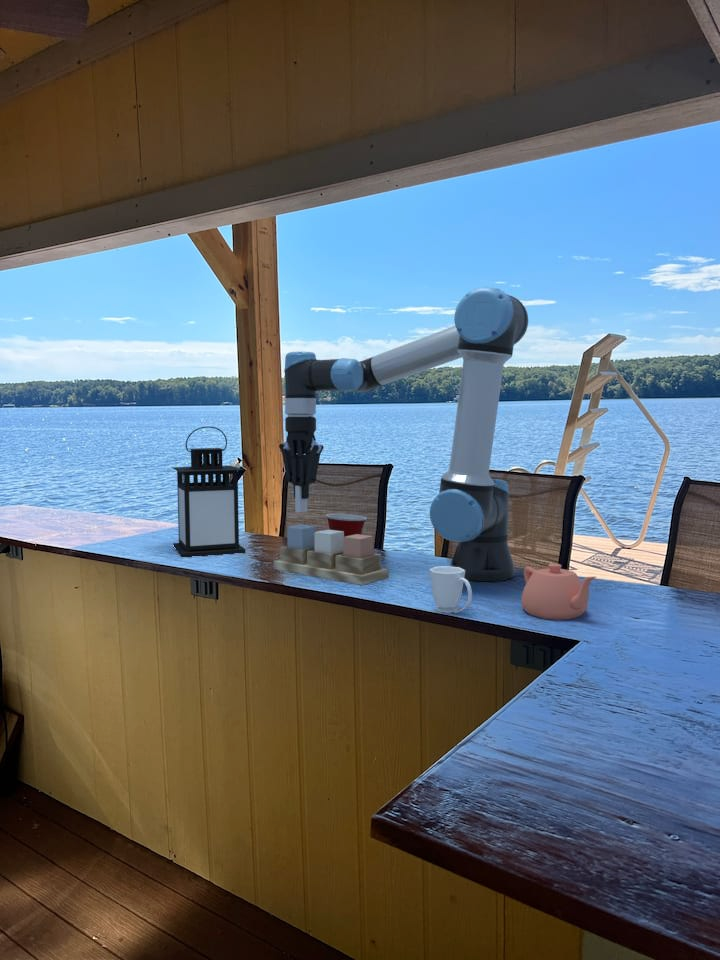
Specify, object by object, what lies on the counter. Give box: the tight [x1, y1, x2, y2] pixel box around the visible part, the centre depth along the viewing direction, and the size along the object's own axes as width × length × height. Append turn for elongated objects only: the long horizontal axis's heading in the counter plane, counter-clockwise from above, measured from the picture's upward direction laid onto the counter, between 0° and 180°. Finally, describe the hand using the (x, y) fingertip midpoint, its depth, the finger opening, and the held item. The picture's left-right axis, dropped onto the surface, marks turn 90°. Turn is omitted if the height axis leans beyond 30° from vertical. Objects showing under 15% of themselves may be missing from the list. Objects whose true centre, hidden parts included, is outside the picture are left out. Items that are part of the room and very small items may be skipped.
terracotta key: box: [343, 534, 375, 559], centre depth 172 cm, size 5×5×6 cm
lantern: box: [170, 426, 246, 558], centre depth 207 cm, size 17×17×35 cm
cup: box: [428, 565, 473, 614], centre depth 143 cm, size 7×10×8 cm
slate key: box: [286, 524, 317, 550], centre depth 183 cm, size 5×5×6 cm
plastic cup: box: [325, 513, 368, 537], centre depth 193 cm, size 11×11×12 cm
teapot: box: [520, 563, 597, 621], centre depth 141 cm, size 12×18×10 cm
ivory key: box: [314, 529, 344, 554], centre depth 177 cm, size 5×5×6 cm
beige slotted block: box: [272, 545, 389, 586], centre depth 178 cm, size 28×10×6 cm, turn 52°
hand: (301, 511), depth 182 cm, fingers closed
